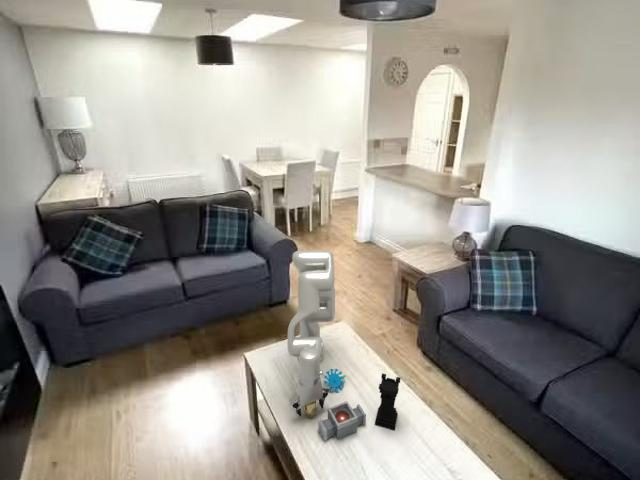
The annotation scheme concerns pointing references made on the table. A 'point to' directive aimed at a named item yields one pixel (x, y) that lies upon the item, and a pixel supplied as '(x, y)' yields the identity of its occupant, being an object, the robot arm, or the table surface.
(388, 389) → the chess piece
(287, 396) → the table surface
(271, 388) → the table surface
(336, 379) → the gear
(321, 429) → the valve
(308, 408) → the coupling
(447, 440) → the table surface
